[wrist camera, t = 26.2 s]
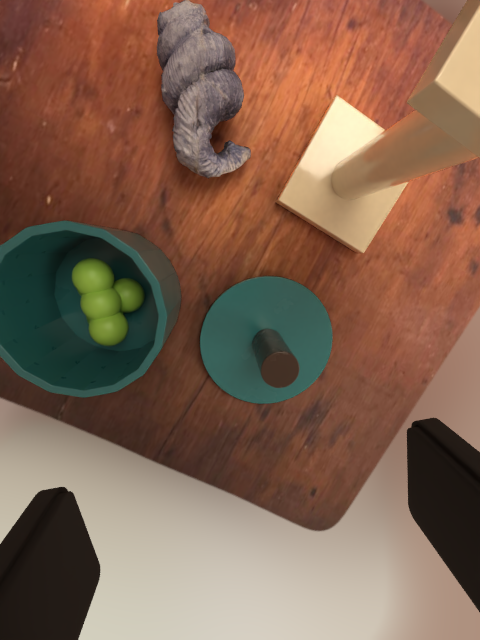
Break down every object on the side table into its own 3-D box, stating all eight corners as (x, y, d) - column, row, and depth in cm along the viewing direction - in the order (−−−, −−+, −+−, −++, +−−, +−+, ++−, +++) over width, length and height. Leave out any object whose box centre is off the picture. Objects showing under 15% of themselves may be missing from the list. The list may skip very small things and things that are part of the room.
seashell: (230, 183, 24) (185, 43, 22) (279, 152, 20) (229, -24, 18) (175, 192, 21) (116, 30, 19) (218, 158, 17) (149, -55, 15)
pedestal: (275, 202, 24) (434, 80, 6) (330, 101, 22) (741, -425, 5) (357, 253, 25) (674, 271, 8) (414, 162, 24) (966, -74, 6)
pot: (33, 241, 23) (-51, 240, 16) (165, 218, 23) (141, 206, 16) (74, 363, 26) (17, 410, 18) (192, 341, 26) (182, 379, 19)
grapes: (78, 262, 23) (45, 266, 19) (137, 250, 23) (118, 251, 19) (102, 337, 25) (77, 357, 20) (157, 326, 25) (144, 343, 20)
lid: (188, 288, 25) (177, 303, 18) (321, 264, 25) (357, 270, 19) (214, 408, 28) (212, 458, 21) (333, 385, 28) (368, 427, 21)
